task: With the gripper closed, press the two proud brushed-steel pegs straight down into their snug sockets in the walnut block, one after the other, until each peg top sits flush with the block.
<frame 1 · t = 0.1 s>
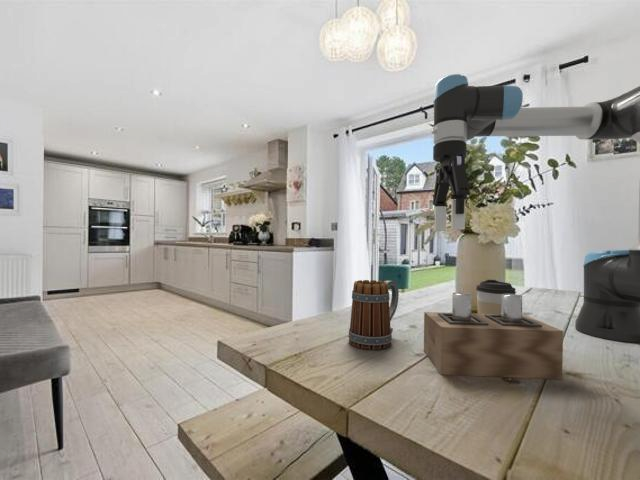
hand: (448, 230, 75), 28 cm above the table, fingers open, 13 cm apart
socket block: (485, 363, 64), on the table
peg 2: (511, 315, 63), point 10 cm above the table, slide at 5.5 cm
coffee cup: (494, 339, 80), on the table
mug: (376, 341, 77), on the table
peg 1: (461, 314, 64), point 10 cm above the table, slide at 5.5 cm
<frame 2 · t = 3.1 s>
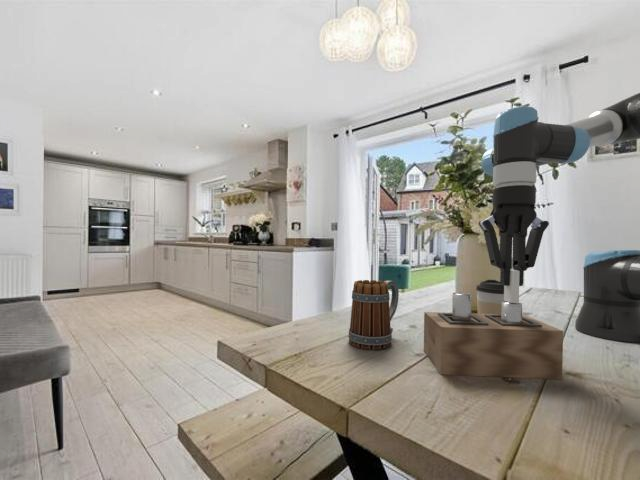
hand: (511, 301, 63), 13 cm above the table, fingers closed
peg 2: (511, 323, 63), point 9 cm above the table, slide at 3.9 cm, touching gripper
everything else where it was.
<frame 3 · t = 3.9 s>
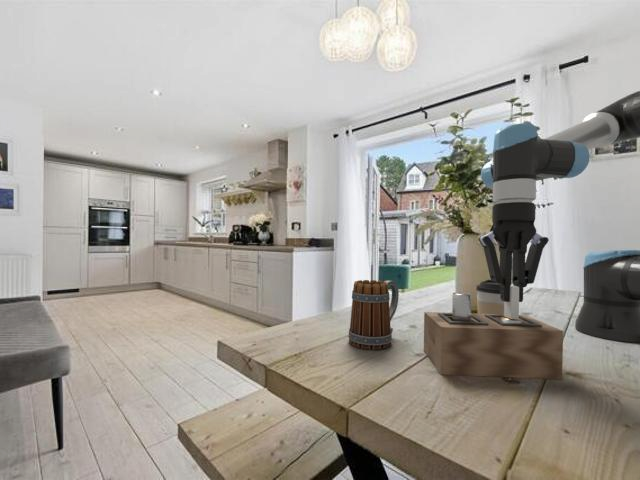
hand: (511, 317, 63), 10 cm above the table, fingers closed
peg 2: (511, 339, 63), point 5 cm above the table, slide at 0.7 cm, touching gripper
everything else where it was.
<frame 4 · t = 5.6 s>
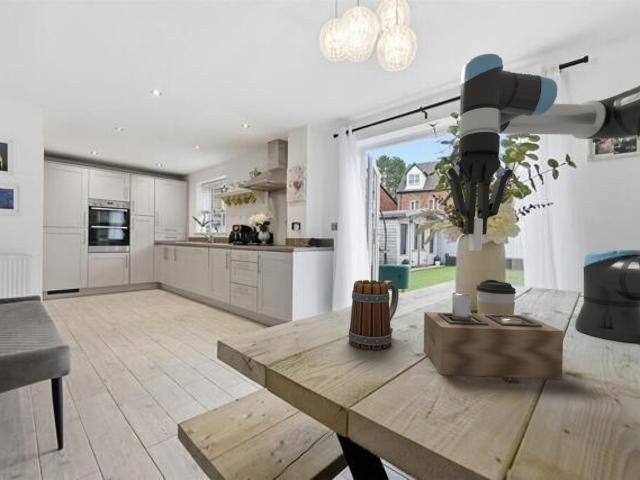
hand: (475, 250, 64), 24 cm above the table, fingers closed
peg 2: (511, 339, 63), point 5 cm above the table, slide at 0.6 cm
everything else where it was.
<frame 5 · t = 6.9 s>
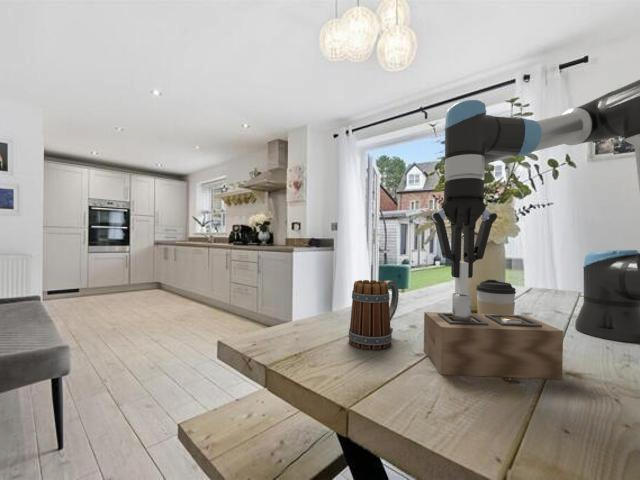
hand: (461, 293, 64), 15 cm above the table, fingers closed
peg 1: (461, 314, 64), point 10 cm above the table, slide at 5.4 cm, touching gripper
everything else where it was.
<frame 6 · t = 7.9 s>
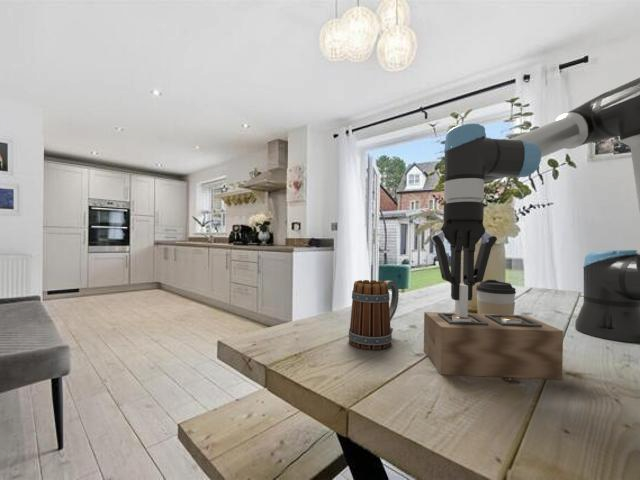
hand: (461, 315, 64), 10 cm above the table, fingers closed
peg 1: (461, 337, 64), point 5 cm above the table, slide at 0.7 cm, touching gripper
everything else where it was.
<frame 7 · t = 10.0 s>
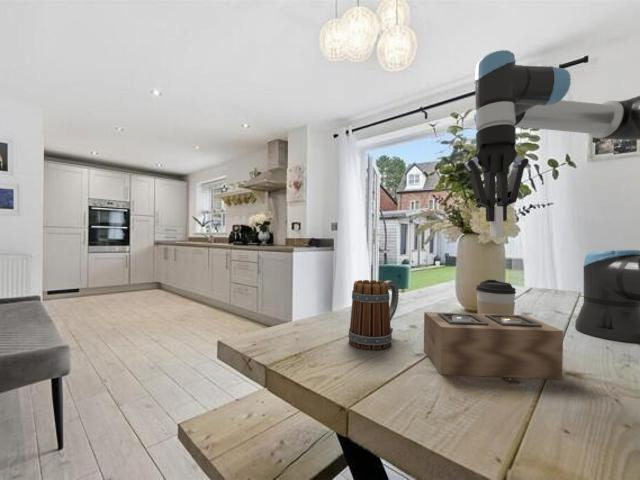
hand: (496, 236, 67), 26 cm above the table, fingers closed
peg 1: (461, 337, 64), point 5 cm above the table, slide at 0.6 cm
everything else where it was.
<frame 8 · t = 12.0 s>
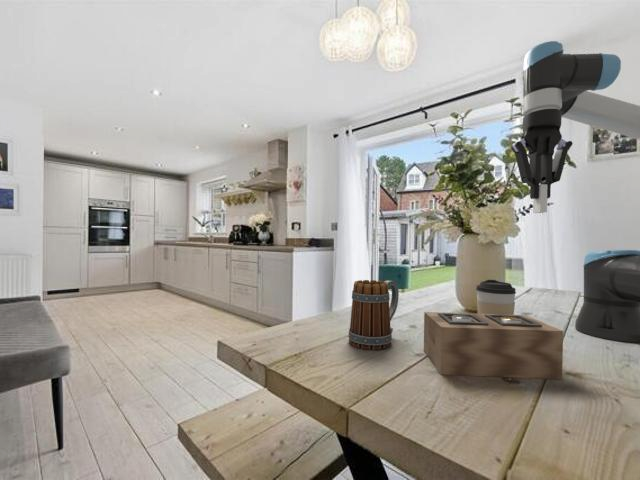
hand: (539, 212, 73), 32 cm above the table, fingers closed
nothing on the table moved.
at the end: peg 2 slide at 0.6 cm; peg 1 slide at 0.6 cm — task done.
